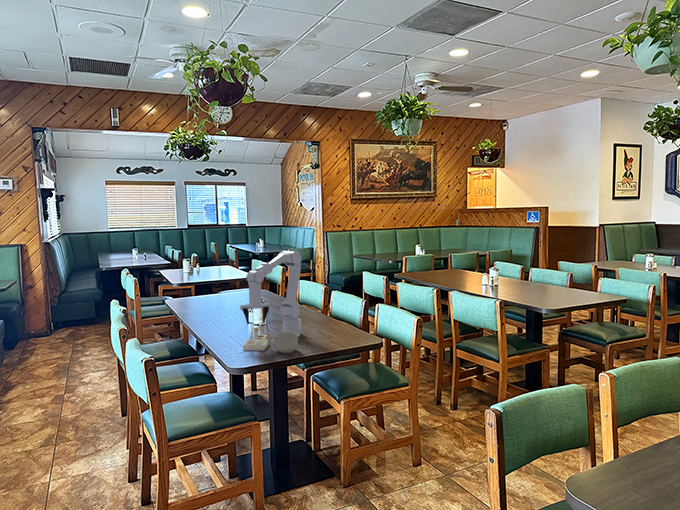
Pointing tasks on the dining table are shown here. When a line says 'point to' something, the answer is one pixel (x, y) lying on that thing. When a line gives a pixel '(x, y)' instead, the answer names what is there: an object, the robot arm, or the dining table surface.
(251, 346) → the tray
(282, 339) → the teacup
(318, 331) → the dining table surface
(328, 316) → the dining table surface
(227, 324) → the dining table surface
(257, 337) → the pin
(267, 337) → the beige square frame
